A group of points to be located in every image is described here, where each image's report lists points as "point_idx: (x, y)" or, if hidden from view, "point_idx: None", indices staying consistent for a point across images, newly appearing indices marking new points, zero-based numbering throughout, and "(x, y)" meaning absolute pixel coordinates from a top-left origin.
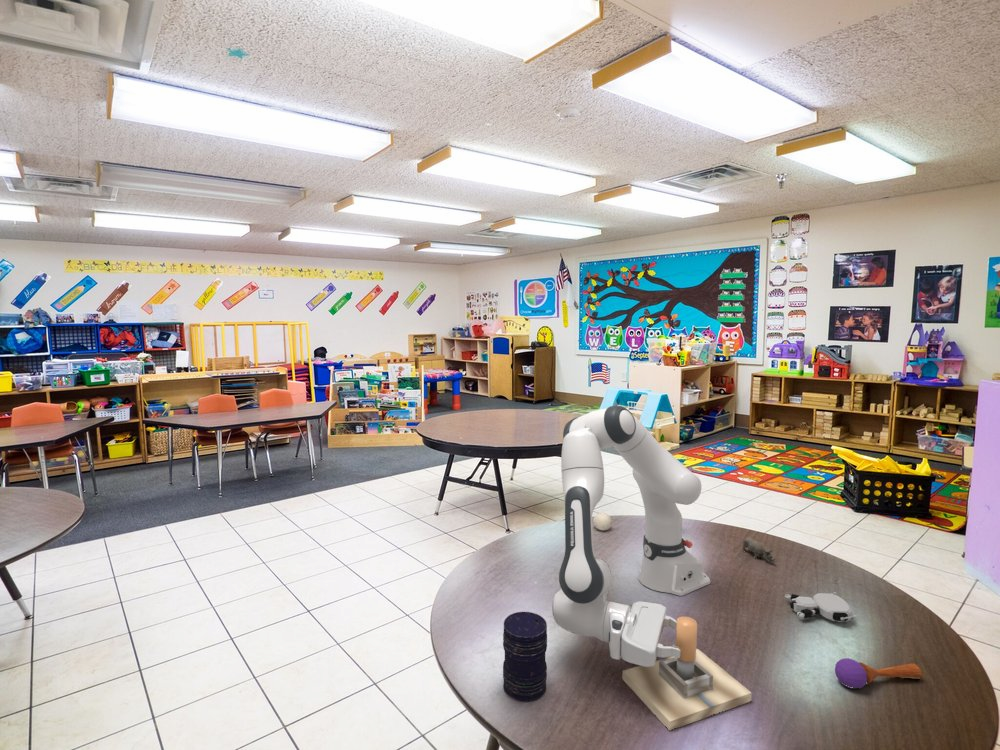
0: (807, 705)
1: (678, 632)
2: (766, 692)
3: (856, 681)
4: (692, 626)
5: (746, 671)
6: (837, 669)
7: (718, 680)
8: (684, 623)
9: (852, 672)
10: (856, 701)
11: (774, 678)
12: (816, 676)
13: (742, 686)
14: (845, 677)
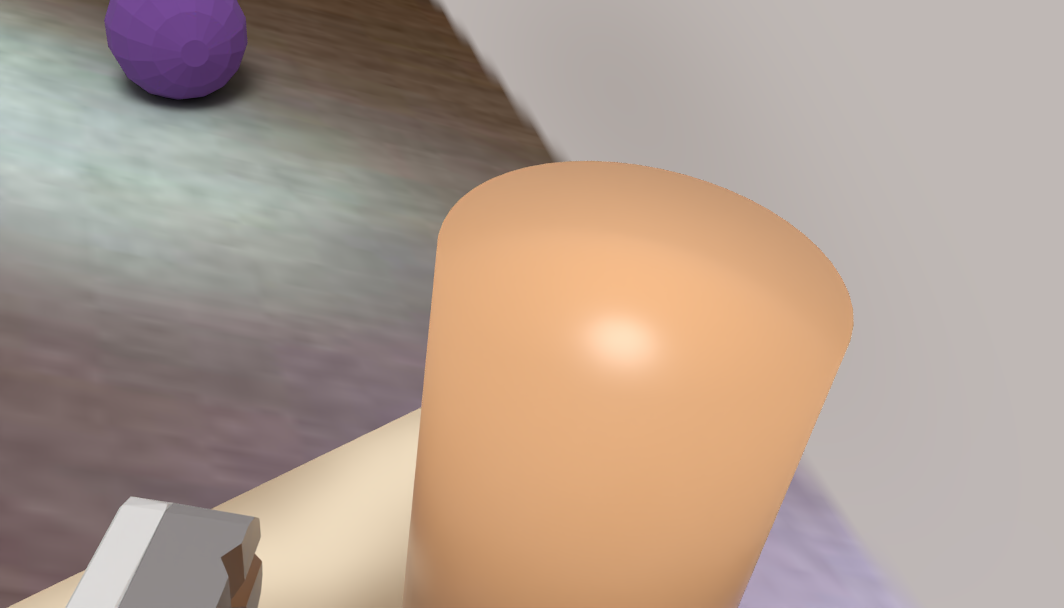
0: (387, 232)
1: (739, 542)
2: (325, 355)
3: (244, 33)
4: (753, 220)
5: (102, 409)
6: (177, 41)
7: (371, 568)
8: (728, 303)
9: (227, 3)
10: (301, 104)
11: (169, 295)
12: (128, 153)
13: (400, 426)
14: (224, 46)
